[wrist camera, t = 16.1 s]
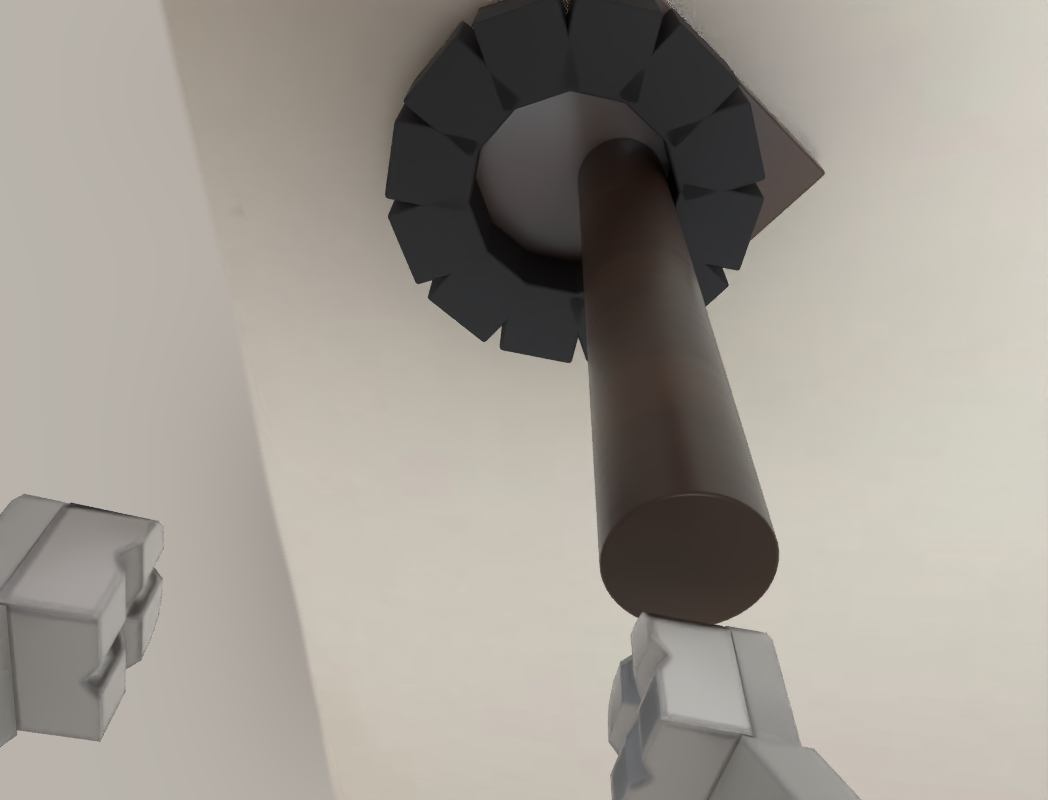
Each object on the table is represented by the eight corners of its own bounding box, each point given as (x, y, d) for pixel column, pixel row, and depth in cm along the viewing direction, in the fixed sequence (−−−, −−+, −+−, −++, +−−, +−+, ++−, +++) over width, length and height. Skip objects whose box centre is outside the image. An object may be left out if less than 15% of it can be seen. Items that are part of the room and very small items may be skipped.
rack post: (423, 176, 28) (274, 569, 13) (621, -47, 24) (714, 146, 10) (617, 343, 30) (673, 825, 16) (817, 162, 27) (1122, 559, 12)
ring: (331, 183, 27) (314, 211, 25) (563, -105, 23) (563, -99, 21) (579, 382, 30) (580, 420, 28) (820, 159, 26) (840, 186, 24)
